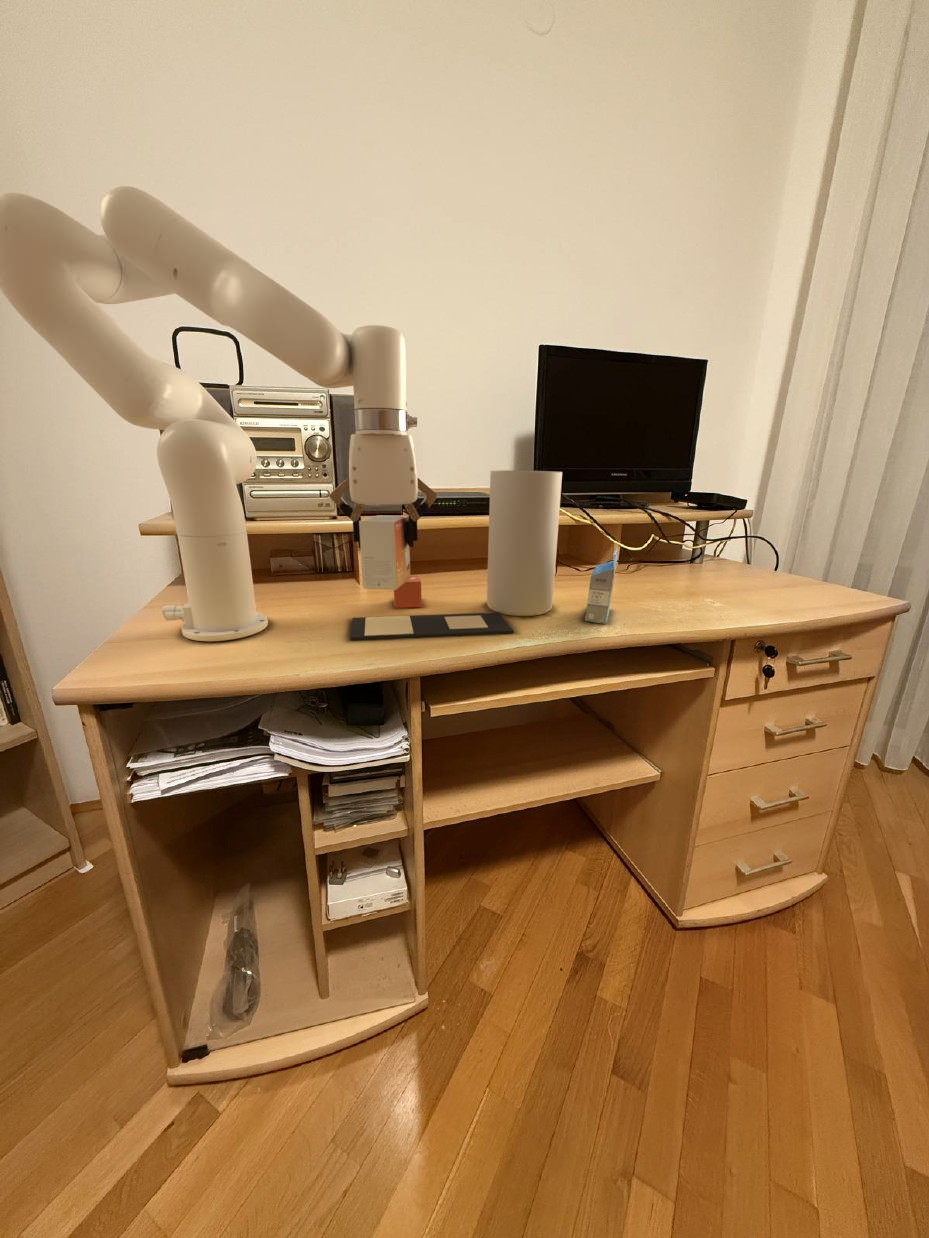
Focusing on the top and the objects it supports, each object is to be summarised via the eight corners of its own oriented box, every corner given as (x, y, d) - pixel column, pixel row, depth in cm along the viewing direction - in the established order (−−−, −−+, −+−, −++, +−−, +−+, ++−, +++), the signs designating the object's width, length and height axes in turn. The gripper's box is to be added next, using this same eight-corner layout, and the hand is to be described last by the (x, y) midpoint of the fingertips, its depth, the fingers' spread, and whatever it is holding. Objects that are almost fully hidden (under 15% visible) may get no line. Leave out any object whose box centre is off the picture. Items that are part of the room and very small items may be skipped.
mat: (350, 640, 75) (349, 636, 75) (352, 620, 85) (352, 617, 85) (513, 633, 80) (513, 629, 80) (498, 614, 89) (498, 611, 89)
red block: (395, 608, 92) (394, 581, 91) (394, 600, 97) (393, 575, 95) (421, 607, 93) (421, 581, 91) (419, 600, 98) (419, 575, 96)
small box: (396, 591, 75) (394, 521, 71) (361, 589, 76) (357, 520, 72) (411, 579, 82) (410, 515, 79) (379, 577, 83) (376, 514, 80)
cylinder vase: (478, 613, 90) (482, 471, 82) (495, 596, 101) (500, 470, 93) (546, 620, 86) (556, 473, 78) (556, 602, 98) (566, 471, 90)
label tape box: (589, 608, 94) (595, 544, 90) (611, 610, 93) (618, 546, 89) (584, 621, 86) (591, 552, 82) (608, 624, 85) (616, 554, 81)
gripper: (437, 427, 76) (438, 541, 82) (322, 425, 73) (331, 543, 79) (443, 424, 69) (444, 549, 75) (317, 421, 66) (326, 551, 72)
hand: (386, 545), depth 77 cm, fingers closed on small box, 7 cm apart
